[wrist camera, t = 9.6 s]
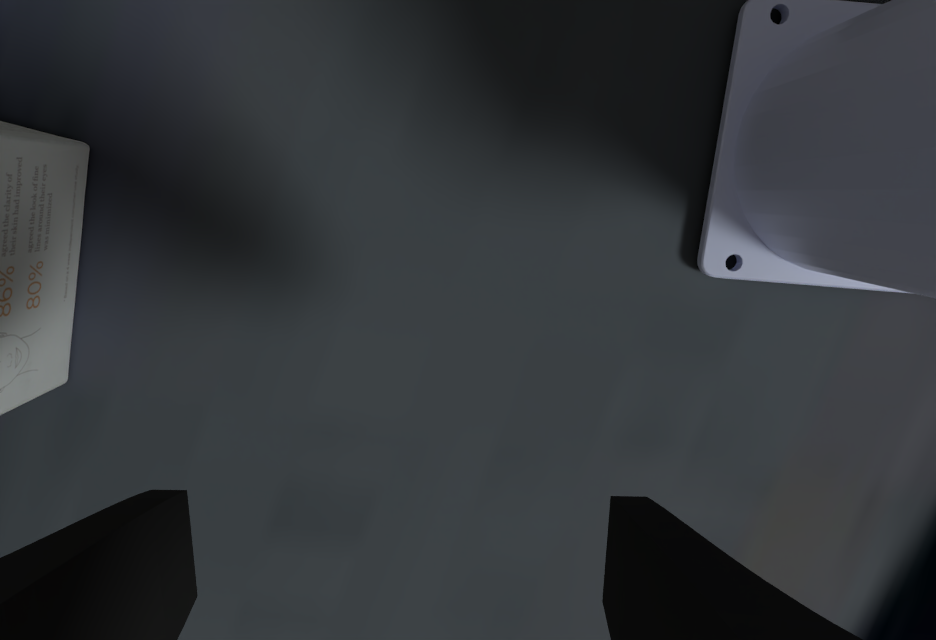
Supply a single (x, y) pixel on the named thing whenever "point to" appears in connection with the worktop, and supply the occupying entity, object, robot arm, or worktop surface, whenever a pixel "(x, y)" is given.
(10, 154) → the small box
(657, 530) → the robot arm
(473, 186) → the worktop surface
